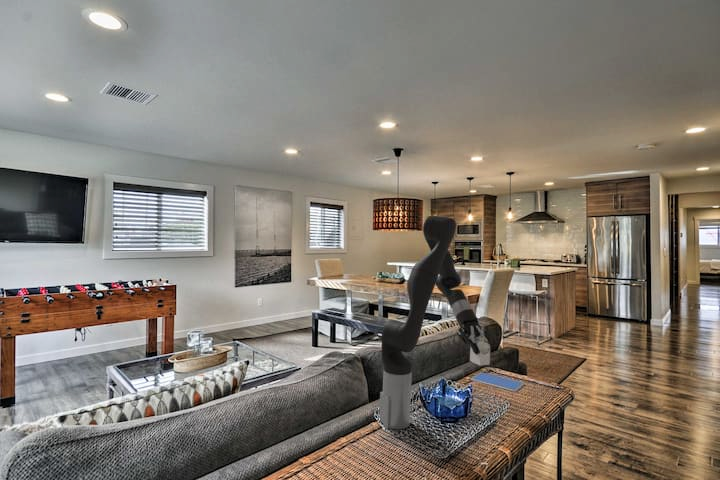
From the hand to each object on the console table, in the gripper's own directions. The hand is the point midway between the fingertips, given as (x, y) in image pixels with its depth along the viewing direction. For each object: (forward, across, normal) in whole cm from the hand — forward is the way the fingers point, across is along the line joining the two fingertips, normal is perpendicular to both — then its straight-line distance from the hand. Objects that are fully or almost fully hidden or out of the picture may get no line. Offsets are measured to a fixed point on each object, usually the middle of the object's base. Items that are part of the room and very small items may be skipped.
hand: (483, 352), depth 139 cm
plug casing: (+2, 0, +4) cm, 5 cm away
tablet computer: (+1, +24, +28) cm, 37 cm away
